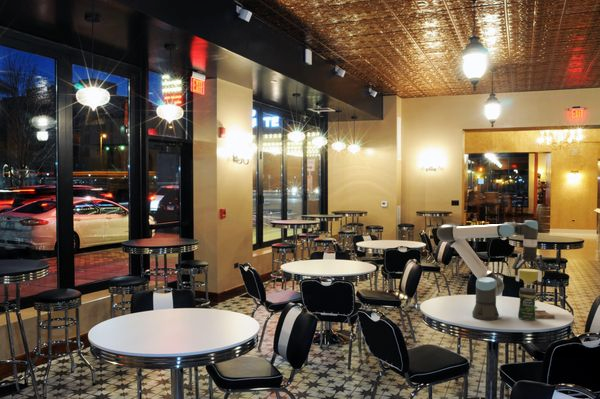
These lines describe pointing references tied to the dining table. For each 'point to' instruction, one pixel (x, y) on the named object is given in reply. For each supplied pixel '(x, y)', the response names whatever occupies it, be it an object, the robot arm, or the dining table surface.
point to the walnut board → (543, 314)
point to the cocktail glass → (529, 275)
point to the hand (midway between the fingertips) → (528, 281)
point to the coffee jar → (527, 304)
